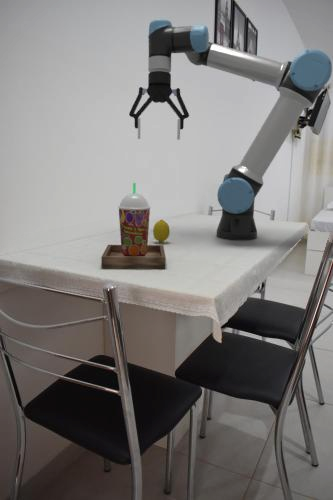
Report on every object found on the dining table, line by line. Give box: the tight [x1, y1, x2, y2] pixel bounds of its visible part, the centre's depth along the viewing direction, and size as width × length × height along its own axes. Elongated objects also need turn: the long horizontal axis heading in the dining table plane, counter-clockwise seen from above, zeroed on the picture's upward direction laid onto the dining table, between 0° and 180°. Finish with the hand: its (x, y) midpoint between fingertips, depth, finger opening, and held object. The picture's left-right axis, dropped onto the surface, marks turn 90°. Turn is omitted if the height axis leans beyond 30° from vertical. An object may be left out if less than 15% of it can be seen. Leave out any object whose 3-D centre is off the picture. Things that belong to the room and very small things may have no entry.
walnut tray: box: [100, 244, 167, 270], centre depth 105 cm, size 16×16×3 cm
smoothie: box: [118, 182, 151, 256], centre depth 104 cm, size 8×8×20 cm
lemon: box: [152, 219, 171, 244], centre depth 132 cm, size 6×6×8 cm
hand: (158, 139), depth 134 cm, fingers open, 13 cm apart
